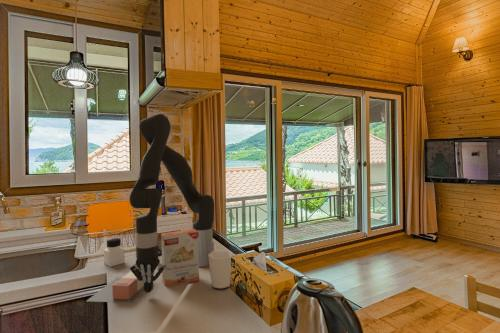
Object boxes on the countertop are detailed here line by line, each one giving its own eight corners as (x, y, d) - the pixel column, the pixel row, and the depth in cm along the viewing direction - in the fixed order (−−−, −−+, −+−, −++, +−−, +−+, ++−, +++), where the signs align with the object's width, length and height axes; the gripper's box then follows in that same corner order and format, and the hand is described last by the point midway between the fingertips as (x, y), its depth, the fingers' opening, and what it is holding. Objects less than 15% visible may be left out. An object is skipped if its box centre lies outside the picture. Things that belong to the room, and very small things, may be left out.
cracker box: (165, 289, 113) (163, 236, 112) (162, 283, 118) (160, 232, 117) (200, 281, 119) (198, 231, 119) (195, 276, 125) (194, 228, 124)
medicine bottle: (124, 262, 142) (124, 238, 142) (109, 267, 137) (108, 241, 136) (118, 259, 147) (117, 236, 147) (103, 263, 142) (103, 239, 141)
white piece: (156, 281, 121) (155, 266, 121) (132, 306, 101) (131, 288, 101) (116, 280, 122) (116, 265, 122) (86, 304, 102) (85, 286, 102)
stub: (137, 291, 109) (136, 278, 108) (129, 299, 103) (128, 285, 102) (121, 291, 109) (121, 277, 109) (112, 299, 103) (112, 285, 103)
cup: (218, 278, 122) (218, 248, 122) (238, 283, 117) (238, 252, 117) (203, 288, 114) (202, 256, 113) (224, 294, 109) (223, 260, 108)
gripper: (169, 241, 107) (170, 287, 108) (134, 240, 109) (135, 286, 109) (161, 247, 100) (162, 297, 101) (124, 247, 101) (125, 296, 102)
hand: (148, 291), depth 105 cm, fingers closed
